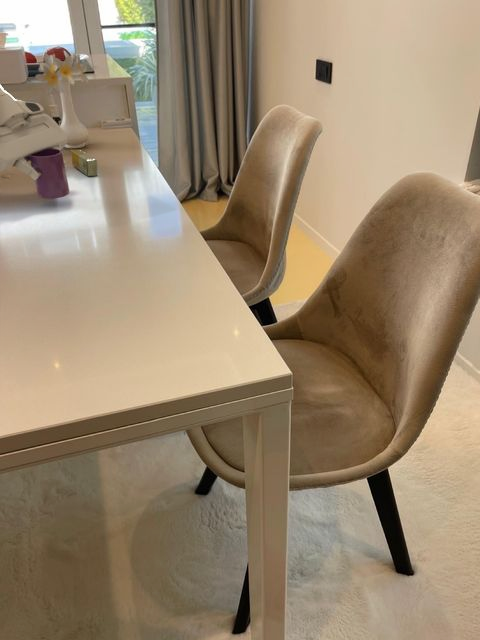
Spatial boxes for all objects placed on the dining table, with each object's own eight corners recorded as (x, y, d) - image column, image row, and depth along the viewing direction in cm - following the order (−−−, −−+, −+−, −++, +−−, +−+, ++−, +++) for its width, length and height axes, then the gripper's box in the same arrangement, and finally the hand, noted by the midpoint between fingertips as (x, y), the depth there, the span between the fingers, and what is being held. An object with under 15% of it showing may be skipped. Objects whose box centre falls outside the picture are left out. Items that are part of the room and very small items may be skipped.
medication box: (98, 176, 144) (97, 160, 142) (88, 176, 142) (86, 160, 140) (81, 164, 152) (80, 148, 150) (71, 164, 150) (70, 149, 148)
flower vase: (47, 155, 159) (26, 57, 145) (59, 139, 175) (41, 49, 160) (93, 154, 161) (77, 56, 147) (101, 138, 176) (88, 48, 162)
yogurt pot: (45, 201, 121) (35, 158, 116) (33, 192, 125) (24, 151, 120) (74, 194, 125) (66, 153, 119) (62, 186, 129) (54, 146, 124)
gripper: (-28, 121, 110) (23, 176, 112) (44, 102, 125) (87, 151, 128) (-38, 142, 114) (11, 195, 116) (33, 121, 129) (75, 168, 132)
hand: (51, 172), depth 122 cm, fingers closed on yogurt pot, 7 cm apart
